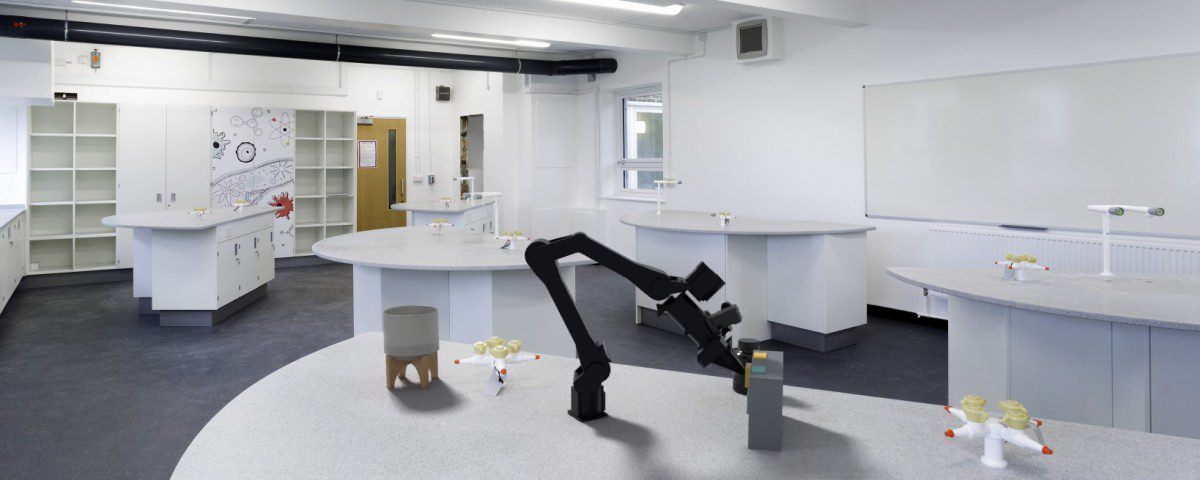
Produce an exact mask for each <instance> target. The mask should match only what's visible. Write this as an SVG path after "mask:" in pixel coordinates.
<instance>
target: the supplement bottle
mask: <svg viewBox="0 0 1200 480" xmlns="http://www.w3.org/2000/svg"><path fill="white" fill-rule="evenodd" d="M737 348H738V349H737V350H735V353H736V355H737V356H738V358H739V360H740V361H741V363H742V365H743V366H744V368H746V363H752V357H753V351H754V350H760V340H758V339H755V338H751V337H744V338H738V339H737ZM732 390H733V391H734V392H735V393H738V394H742V395H747V391H748V388H747V387H745V374H743V375H741V374H738V373H736V372H734V371H732Z"/></svg>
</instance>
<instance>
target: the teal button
mask: <svg viewBox="0 0 1200 480" xmlns="http://www.w3.org/2000/svg"><path fill="white" fill-rule="evenodd" d="M746 415H749V387H748V391H747V394H746Z"/></svg>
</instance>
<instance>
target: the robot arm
mask: <svg viewBox="0 0 1200 480" xmlns="http://www.w3.org/2000/svg"><path fill="white" fill-rule="evenodd" d="M578 253H579V254H580V255H583V256H585V257H587V258H589V260H590V259H591V260H592V261H594V262H596V263H598V264H599V265H601V266H603V267H605V268H607V269H609V270H610V271H612V272H614V273H616V274H618V275H620V276H621V277H623V278H625V279H627V280H628V281H630V282H631V283H632V284H633V285H635V287H636V288H637V289H638V290H640V291H641V292H642V293H644V294H645V295H647V296H648V297H649V298H650V299H652V300H653V301H657V302H658V303H656V304H655V306H656V309H657V312H656V317H657V318H660V317H661V316H662V315H664V314H665V313H666V314H667V315H668V316H669V317H671V319H672V320H673V321H674V322H675V323H676V324H677V325H678V326H679V327H680V328H681V329H682V330H683V333H682V334H683V335H684V336H685V337H690V339H692V341H693V342H694V343H695V344H696V345H697V347H696V348H697V349H698V352H697V355H696V357H697V358H696V359H697V360H696V361H697V363H698V364H699V365H700V366H701V367H702V368H703V369H706V368H707V367H708V366H709V365H710V364H714V365H716V366H719V367H722V368H724V369H726V370H729V371H732V372H733V371H734V372H736V373H738V374H741V375H743V374H745V368H744V366H743V365H742V363H741V361H740V360H739V358H738V356H737V355H736V353H735V352H736V350H734V348H733V335H730V336H729V337H728V338H726V337H725V335H726V334H728V333H729V332H730V333H731V332H732V331H733V326H732V325H738V324H740V323H742V321H743V320H742V319H743V316H742V314H741V312H740V308H739V307H738V305H737V304H736V303H733V304H732V303H731V302H730V301H729V300H727V301H725V302H721V303H720V310H717V311H716V312H714V313H711V312H710V311H709V310H706V309H705V310H703V309H702V308H701V307H700V306H699V305H698V304H697V303H696V302H695V301H694V300H693V299H692V298H691V297H690V296H689V295H688V294H687V291H688V293H690V294H691V296H692V297H694V299H695V300H696V301H697V302H698V303H700V302H706V303H708V301H710V299H713V298H712V297H714V295H716V294H717V293H718V292H719V291H720V290H721V289H723V287H724V286H725V285H726V284H727V282H725V281H724V279H722V277H720V275H719V274H717V273H716V272H715V270H713V269H711V268H710V267H709V265H707V264H706V263H705V262H704V261H703V260H701V261H700V262H699V263H697V265H696V266H695V268H694V269H693V270H692V271H691V272H690V273H688V275H686V276H685V277H684V276H683V277H681V276H676V275H669V274H668V273H667V272H666V271H664V270H663V269H660V268H657V267H654V266H651V265H649V264H648V265H647V264H644V263H641V262H637V261H635V260H633V259H631V258H629V257H627V256H625V255H624V254H622V253H620V252H619V251H616V250H614V249H613V248H610V247H608V245H605V244H603V243H602V242H600V241H598V240H596V239H595V238H592V237H590V236H589V235H588V234H587V233H586V232H583V231H575V232H574V233H571V234H569V235H564V236H561V237H556V238H552V239H547V238H541V237H540V238H536V239H534V240H532V241H531V242H530V243H529V244H528V246H527V247H526V248H525V251H524V260H525V263H526V265H527V266H528V267H529V269H531V270H532V272H533V273H534V275H535V276H536V277H537V278H538V279H539V280H540V281H541V283H542V284H543V285H544V286H545V288H546V290H547V292H548V293H549V295H550V298H551V299H552V301H553V303H554V305H555V307H556V309H557V311H558V313H559V315H560V317H561V319H562V321H563V323H564V325H565V327H566V329H567V331H568V333H569V335H570V337H571V339H572V341H573V343H574V344H575V347H576V353H577V356H578V360H579V363H580V365H579V366H578V367H577V368H576V369H575V370H574V371H573V378H572V379H573V380H572V385H571V386H570V409H568V410H567V411H566V413H567V414H569V415H570V416H571V417H573V418H575V419H577V420H579V421H580V422H586V421H592V420H595V419H596V420H597V419H600V418H606V417H608V415H609V414H608V413H607V412H606V409H607V408H606V405H607V404H606V401H607V400H606V399H607V398H606V395H607V394H606V391H605V387H604V384H602V383H604V382H605V381H607V380H608V378H609V377H610V376H611V371H612V367H611V363H612V361H613V360H612V353H611V351H609V349H608V348H607V347H606V343H605V341H604V340H605V339H604V337H600V339H599V338H598V339H596V338H595V337H594V336H593V334H592V332H591V330H590V329H589V327H588V325H587V323H586V322H585V321H586V320H585V319H584V318H583V315H582V313H581V311H580V309H579V308H578V305H577V303H576V302H575V300H574V297H573V295H572V294H571V290H569V287H568V285H567V284H566V281H565V280H564V278H563V276H562V271H561V268H560V262H559V260H560V259H563V258H566V257H569V256H572V255H574V254H578ZM675 294H677V295H676V296H675ZM663 300H664V301H663ZM661 301H663V302H662V303H659V302H661Z"/></svg>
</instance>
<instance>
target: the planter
mask: <svg viewBox="0 0 1200 480" xmlns="http://www.w3.org/2000/svg"><path fill="white" fill-rule="evenodd" d="M439 315H440V314H439V308H438V307H436V306H434V305H425V304H409V305H408V304H407V305H401V306H400V305H399V306H395V307H394V306H393V307H389V308H386V309H384V310H383V311H382V327H383V328H382V329H383V330H382V331H383V353H384V354H385V370H386V371H385V374H386V377H385V378H386V388H387V389H392V388H395V385H396V379H397V378H399V377H400V378H399V379H402V378H401V377H403V378H406V377H405V376H406V374H407V373H406V372H407V367H408V365H412V366H413V367H414V368H415V370H416V372H417V375H418V377H419V382H420V388H421V389H428V388H430V380H429V379H430V378H431V379H436V378H439V359H438V358H439V357H438V354H439V353H438V351H439V350H440V322H439V321H440V319H439ZM429 373H430V374H429Z"/></svg>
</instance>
